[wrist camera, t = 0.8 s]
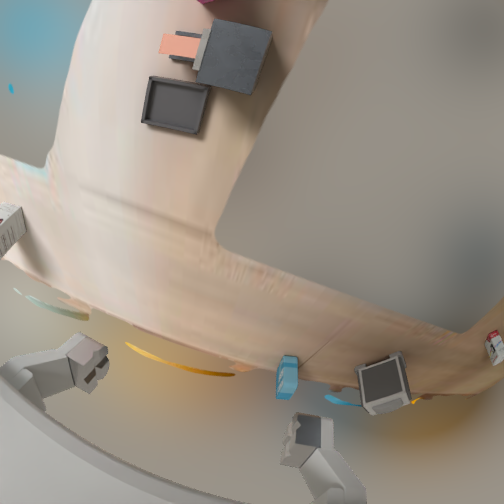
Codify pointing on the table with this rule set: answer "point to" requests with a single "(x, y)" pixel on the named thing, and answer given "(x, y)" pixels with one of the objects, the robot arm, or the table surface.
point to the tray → (175, 104)
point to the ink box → (495, 347)
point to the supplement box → (10, 226)
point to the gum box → (204, 1)
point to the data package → (287, 377)
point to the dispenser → (230, 55)
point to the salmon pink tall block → (179, 45)
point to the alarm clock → (384, 385)
